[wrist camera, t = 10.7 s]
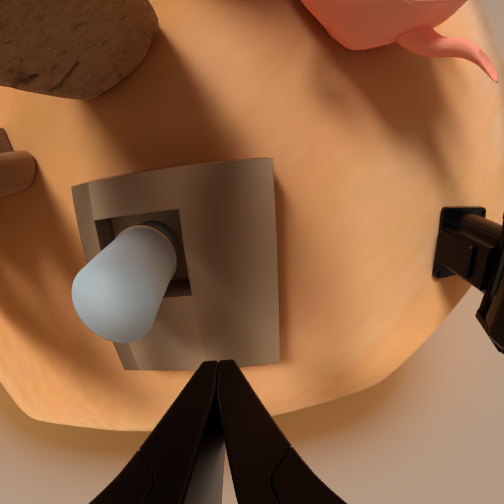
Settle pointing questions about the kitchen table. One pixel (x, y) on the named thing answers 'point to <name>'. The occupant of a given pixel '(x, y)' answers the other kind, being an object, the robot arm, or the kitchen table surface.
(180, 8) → the kitchen table surface
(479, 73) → the kitchen table surface
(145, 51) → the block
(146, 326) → the peg
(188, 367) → the board
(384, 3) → the teapot
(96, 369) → the kitchen table surface
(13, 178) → the wooden toy
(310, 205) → the kitchen table surface
